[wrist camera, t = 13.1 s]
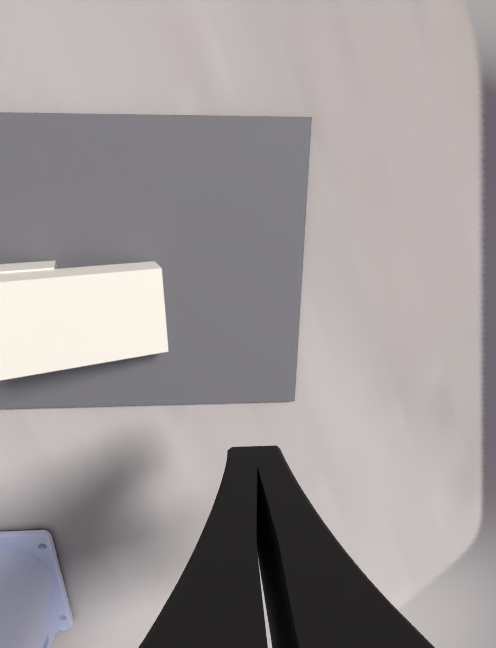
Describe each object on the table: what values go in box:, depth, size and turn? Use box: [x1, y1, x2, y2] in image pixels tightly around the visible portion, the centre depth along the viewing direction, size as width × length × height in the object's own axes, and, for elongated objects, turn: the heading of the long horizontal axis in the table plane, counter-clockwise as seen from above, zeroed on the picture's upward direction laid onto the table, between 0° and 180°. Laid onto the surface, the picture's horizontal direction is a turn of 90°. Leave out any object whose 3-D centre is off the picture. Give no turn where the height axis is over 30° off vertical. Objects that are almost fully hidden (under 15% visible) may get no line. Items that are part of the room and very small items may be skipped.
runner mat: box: [0, 113, 312, 409], centre depth 18 cm, size 14×28×1 cm, turn 90°
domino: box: [0, 261, 168, 380], centre depth 16 cm, size 4×2×7 cm
